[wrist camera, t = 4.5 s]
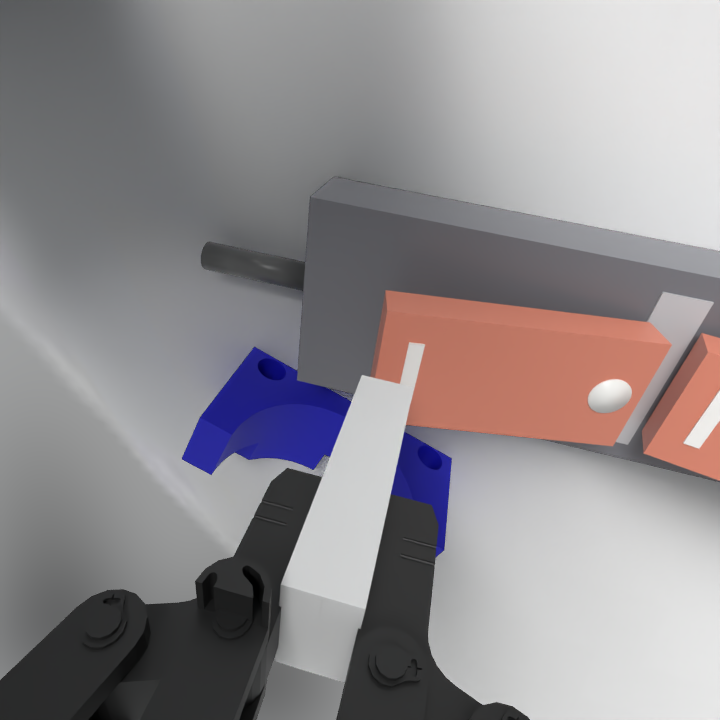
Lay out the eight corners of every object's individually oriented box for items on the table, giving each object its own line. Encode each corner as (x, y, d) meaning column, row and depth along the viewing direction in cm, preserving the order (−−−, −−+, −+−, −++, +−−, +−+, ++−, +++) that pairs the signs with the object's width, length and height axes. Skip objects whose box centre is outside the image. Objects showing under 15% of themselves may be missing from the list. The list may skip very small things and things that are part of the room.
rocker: (366, 396, 18) (367, 422, 17) (385, 290, 16) (387, 312, 15) (597, 420, 19) (613, 447, 18) (650, 322, 16) (673, 346, 15)
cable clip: (228, 400, 28) (173, 477, 23) (255, 345, 25) (199, 417, 20) (408, 500, 29) (393, 593, 24) (451, 455, 26) (444, 550, 21)
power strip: (222, 321, 25) (189, 355, 22) (216, 154, 20) (175, 170, 17) (888, 475, 21) (947, 538, 19) (1059, 316, 17) (1169, 367, 14)
